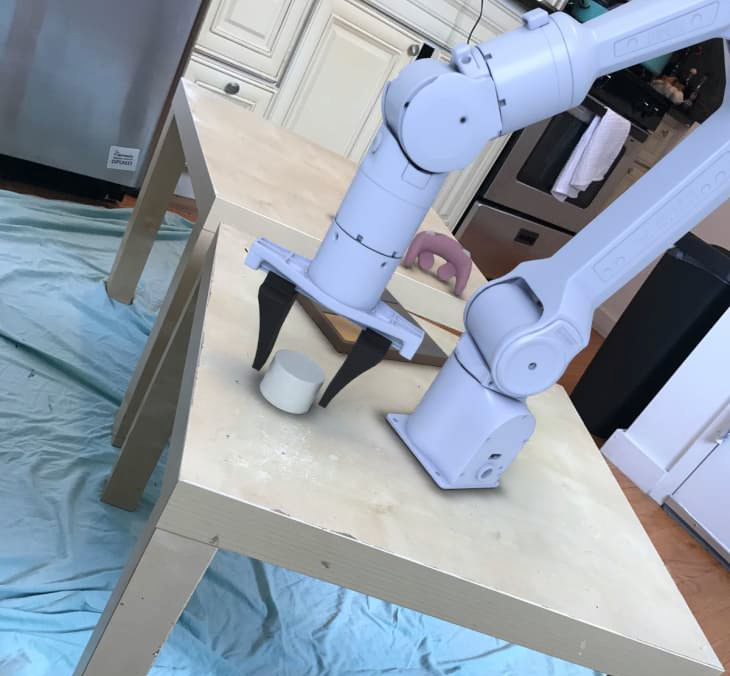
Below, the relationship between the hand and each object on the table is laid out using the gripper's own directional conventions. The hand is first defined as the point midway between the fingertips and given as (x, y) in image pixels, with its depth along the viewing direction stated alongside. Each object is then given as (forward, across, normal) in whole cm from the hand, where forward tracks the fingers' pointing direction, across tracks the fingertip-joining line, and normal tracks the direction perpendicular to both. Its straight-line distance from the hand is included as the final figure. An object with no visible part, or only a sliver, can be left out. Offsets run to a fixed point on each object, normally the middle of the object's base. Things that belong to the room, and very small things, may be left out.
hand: (291, 383), depth 61 cm
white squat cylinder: (+1, 0, 0) cm, 1 cm away
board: (+1, -2, -25) cm, 25 cm away
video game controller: (+2, -8, -54) cm, 54 cm away
